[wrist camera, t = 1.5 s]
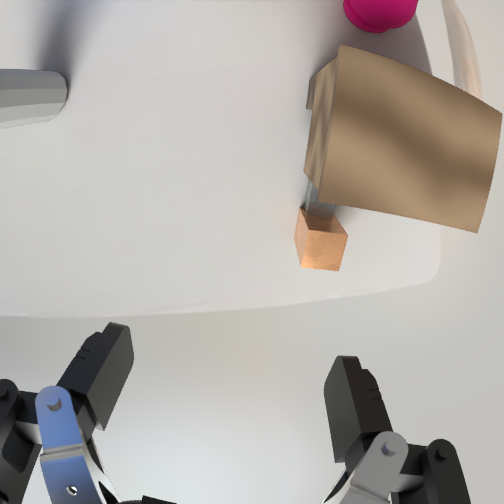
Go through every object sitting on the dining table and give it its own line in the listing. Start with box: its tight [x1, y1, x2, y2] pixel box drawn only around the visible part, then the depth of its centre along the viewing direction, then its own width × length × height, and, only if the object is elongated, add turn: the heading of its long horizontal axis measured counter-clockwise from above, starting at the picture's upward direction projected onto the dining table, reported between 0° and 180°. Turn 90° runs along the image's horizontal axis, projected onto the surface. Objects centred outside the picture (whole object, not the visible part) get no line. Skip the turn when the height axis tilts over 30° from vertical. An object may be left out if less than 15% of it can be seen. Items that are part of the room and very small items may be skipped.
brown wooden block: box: [304, 44, 502, 233], centre depth 22 cm, size 11×15×14 cm
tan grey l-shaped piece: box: [294, 180, 348, 271], centre depth 29 cm, size 14×4×7 cm, turn 174°
